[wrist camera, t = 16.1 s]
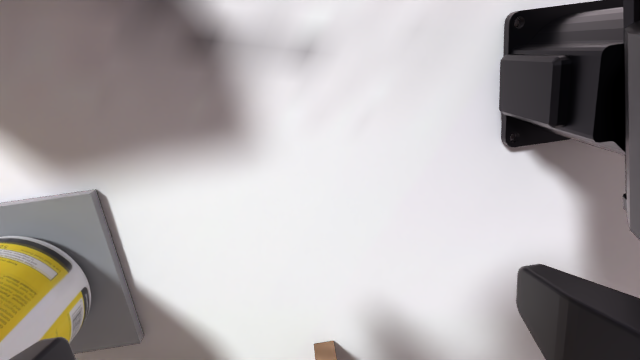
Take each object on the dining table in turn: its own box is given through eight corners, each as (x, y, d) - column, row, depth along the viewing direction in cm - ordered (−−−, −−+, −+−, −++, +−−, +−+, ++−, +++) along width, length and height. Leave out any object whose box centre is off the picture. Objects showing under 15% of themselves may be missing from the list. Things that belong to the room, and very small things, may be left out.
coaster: (95, 189, 20) (90, 193, 19) (143, 335, 22) (140, 343, 22) (-92, 216, 19) (-104, 221, 19) (-18, 361, 22) (-26, 369, 22)
